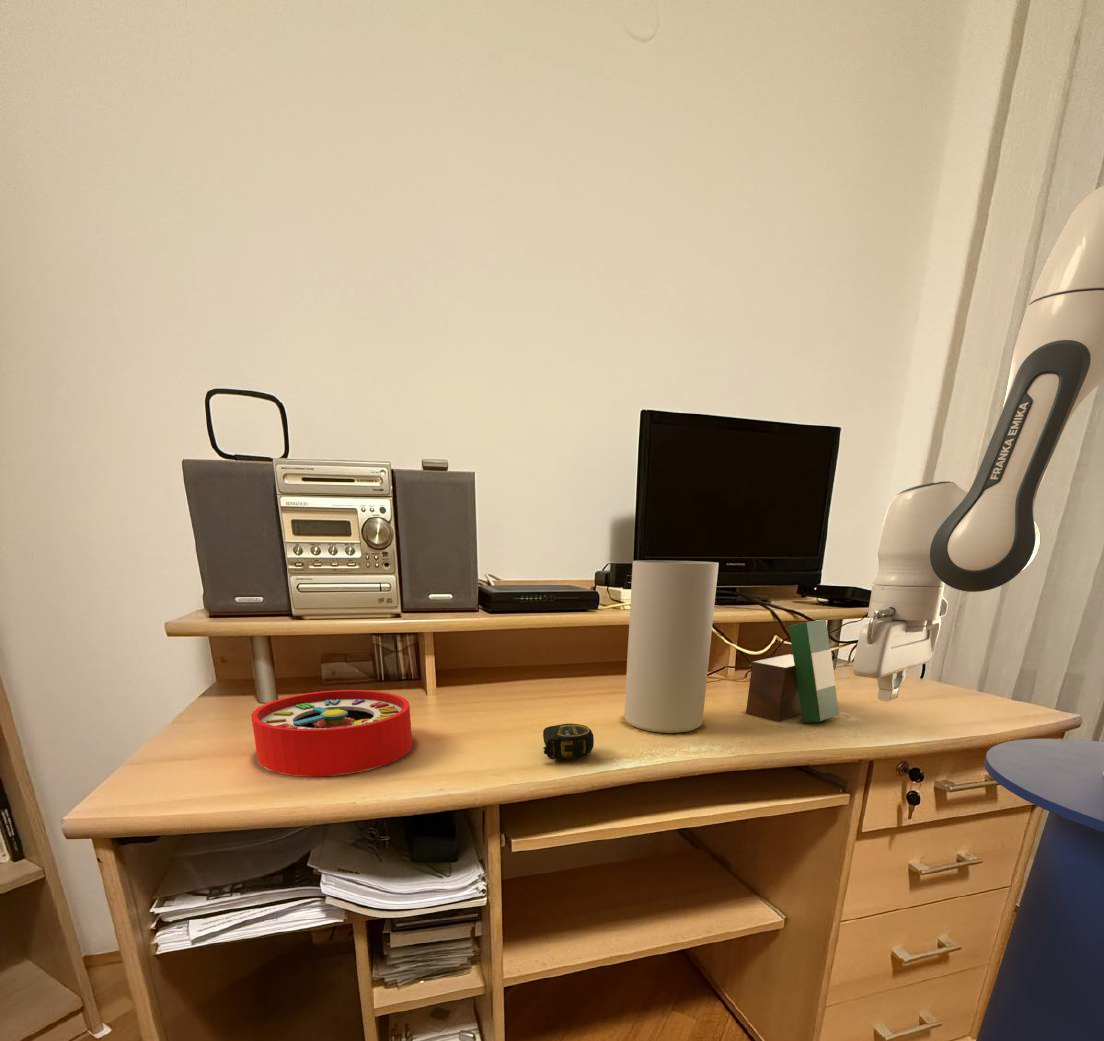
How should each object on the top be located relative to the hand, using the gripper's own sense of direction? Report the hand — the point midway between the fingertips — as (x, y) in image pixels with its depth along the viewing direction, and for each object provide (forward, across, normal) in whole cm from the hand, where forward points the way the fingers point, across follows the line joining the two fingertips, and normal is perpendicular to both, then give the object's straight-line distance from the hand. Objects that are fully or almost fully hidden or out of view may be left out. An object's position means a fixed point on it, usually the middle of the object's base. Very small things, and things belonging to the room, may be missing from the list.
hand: (887, 699), depth 88 cm
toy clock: (+5, -67, +45) cm, 81 cm away
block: (+5, 0, +17) cm, 18 cm away
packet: (-3, 0, +12) cm, 12 cm away
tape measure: (+5, -45, +23) cm, 51 cm away
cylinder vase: (+5, -22, +25) cm, 34 cm away
